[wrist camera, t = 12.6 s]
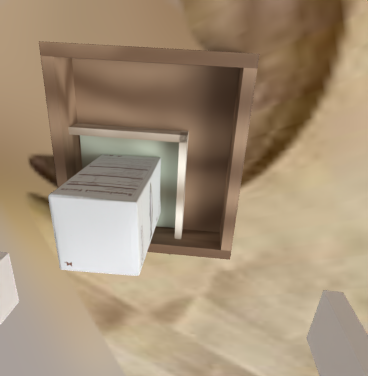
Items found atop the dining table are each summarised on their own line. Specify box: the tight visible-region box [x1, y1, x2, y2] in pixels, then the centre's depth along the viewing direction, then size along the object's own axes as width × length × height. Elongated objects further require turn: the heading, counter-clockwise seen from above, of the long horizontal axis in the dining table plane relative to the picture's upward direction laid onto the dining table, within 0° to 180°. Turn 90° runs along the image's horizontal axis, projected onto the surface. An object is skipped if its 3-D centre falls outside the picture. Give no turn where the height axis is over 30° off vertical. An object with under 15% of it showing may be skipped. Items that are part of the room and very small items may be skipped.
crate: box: [39, 41, 259, 259], centre depth 32 cm, size 22×20×4 cm
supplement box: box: [48, 154, 161, 275], centre depth 29 cm, size 7×7×13 cm
